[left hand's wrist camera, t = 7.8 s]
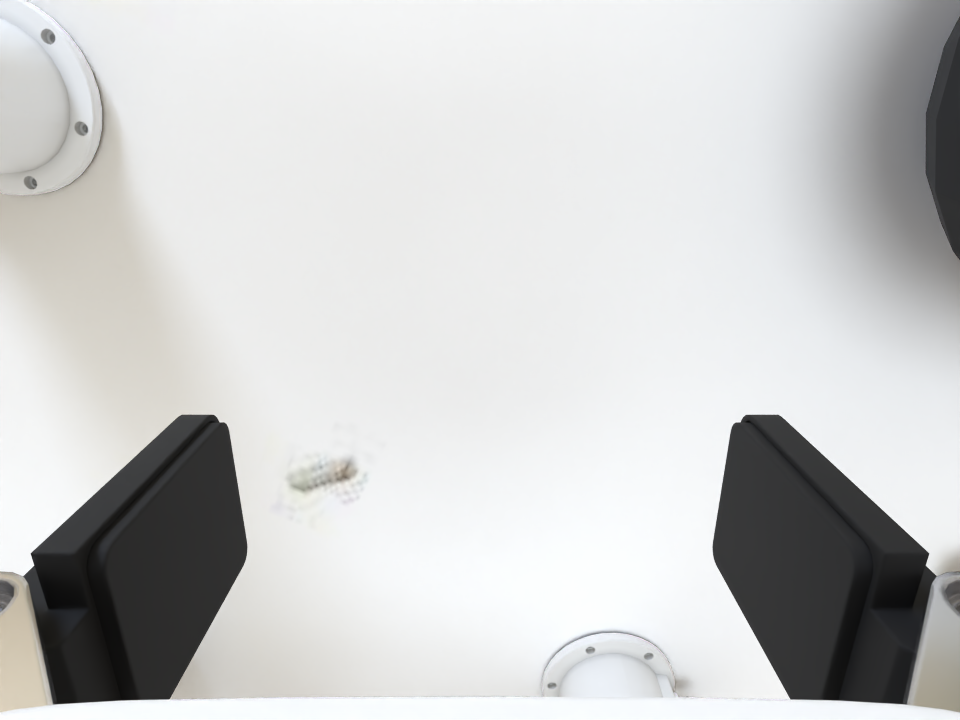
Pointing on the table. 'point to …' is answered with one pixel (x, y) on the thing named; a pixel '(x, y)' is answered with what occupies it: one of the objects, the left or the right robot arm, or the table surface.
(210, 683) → the table surface
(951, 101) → the decorative sphere
